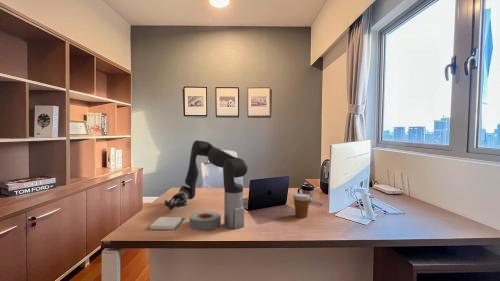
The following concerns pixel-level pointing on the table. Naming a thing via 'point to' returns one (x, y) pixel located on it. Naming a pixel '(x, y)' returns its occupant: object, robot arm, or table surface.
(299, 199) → the disposable coffee cup
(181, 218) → the mat
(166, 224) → the tile
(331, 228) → the table surface
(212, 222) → the tape roll
